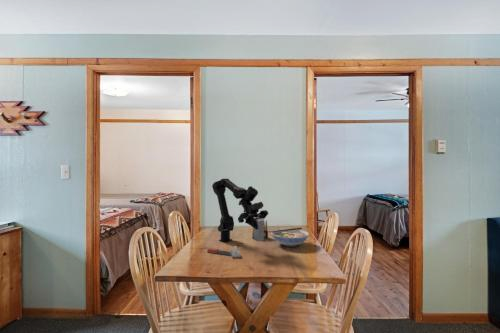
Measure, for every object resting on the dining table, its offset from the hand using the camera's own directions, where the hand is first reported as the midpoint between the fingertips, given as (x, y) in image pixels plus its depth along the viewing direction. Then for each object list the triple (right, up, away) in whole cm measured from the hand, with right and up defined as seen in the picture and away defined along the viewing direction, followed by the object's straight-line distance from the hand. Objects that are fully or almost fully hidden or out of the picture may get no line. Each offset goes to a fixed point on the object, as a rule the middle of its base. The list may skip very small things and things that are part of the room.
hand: (260, 228), depth 148 cm
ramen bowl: (+19, -14, +16) cm, 28 cm away
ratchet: (-20, -13, -3) cm, 24 cm away
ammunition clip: (+1, -14, +32) cm, 35 cm away
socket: (-1, -7, +1) cm, 7 cm away
